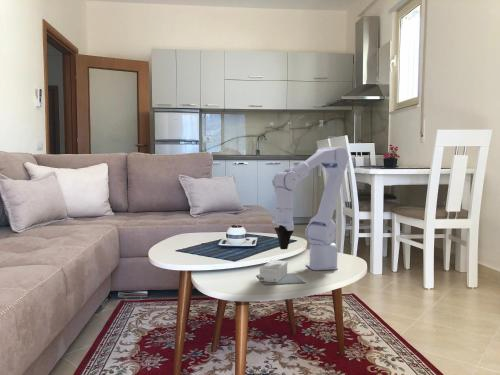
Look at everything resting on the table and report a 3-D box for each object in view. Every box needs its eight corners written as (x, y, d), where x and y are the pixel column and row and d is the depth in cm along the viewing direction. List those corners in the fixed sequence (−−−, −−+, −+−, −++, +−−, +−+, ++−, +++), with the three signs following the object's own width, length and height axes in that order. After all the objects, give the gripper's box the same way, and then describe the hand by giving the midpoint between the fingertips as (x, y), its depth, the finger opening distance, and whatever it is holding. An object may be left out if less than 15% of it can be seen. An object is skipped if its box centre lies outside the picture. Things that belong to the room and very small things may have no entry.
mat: (293, 274, 141) (293, 273, 141) (304, 283, 130) (304, 282, 130) (256, 275, 138) (256, 274, 138) (264, 285, 128) (264, 284, 128)
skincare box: (287, 261, 140) (278, 268, 129) (287, 274, 140) (278, 283, 129) (269, 259, 142) (259, 267, 131) (269, 272, 142) (259, 281, 131)
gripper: (267, 206, 144) (266, 245, 145) (278, 210, 130) (278, 253, 131) (286, 206, 146) (286, 244, 146) (300, 210, 132) (299, 253, 132)
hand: (283, 249), depth 139 cm, fingers closed
